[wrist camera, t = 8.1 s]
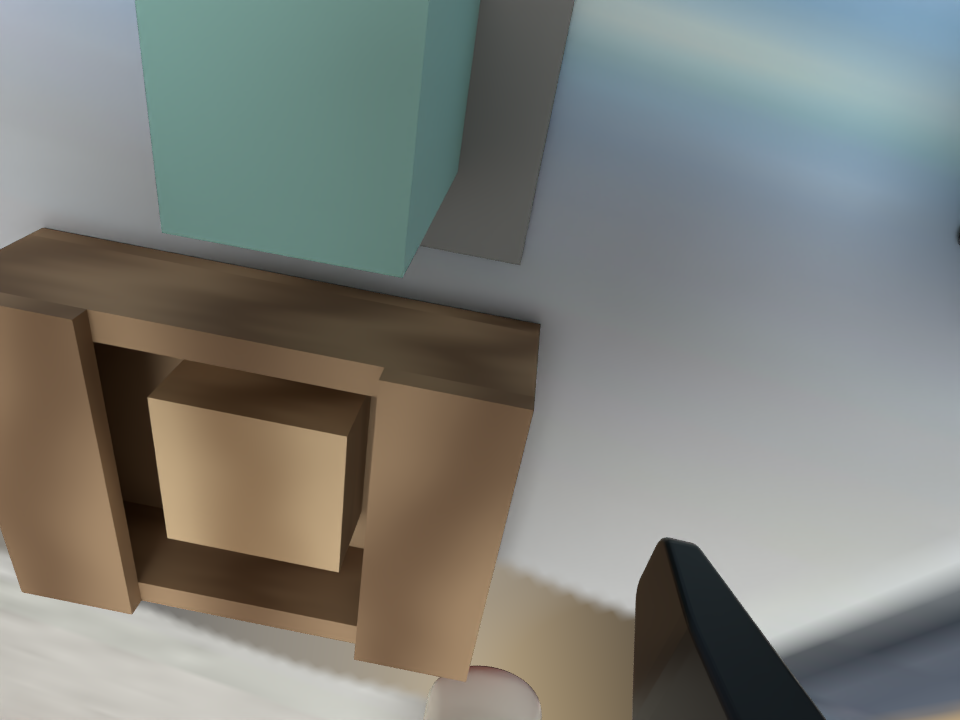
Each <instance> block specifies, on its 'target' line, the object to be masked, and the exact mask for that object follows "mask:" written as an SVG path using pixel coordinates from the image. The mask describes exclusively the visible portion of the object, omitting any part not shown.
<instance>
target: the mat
mask: <svg viewBox="0 0 960 720" xmlns="http://www.w3.org/2000/svg"><path fill="white" fill-rule="evenodd" d="M573 5H574V0H480V7H479V15H478V22H477V30H476V37H475V45H474V52H473V60H472V67H471V75H470V83H469V90H468V98H467V105H466V113H465V120H464V128H463V135H462V143H461V150H460V158H459V166H458V172H457V174H456V176H455V178H454V180H453V182H452V184H451V186H450V188H449V190H448V192H447V193H446V195H445V197H444V199H443V201H442V203H441V205H440V207H439V209H438V211H437V213H436V215H435V217H434V218H433V220H432V222H431V224H430V226H429V228H428V230H427V232H426V234H425V236H424V238H423V240H422V242H421V243H420V245H419V246H424V247H429V248H434V249H439V250H444V251H450V252H455V253H460V254H465V255H470V256H476V257H481V258H486V259H491V260H496V261H501V262H507V263H512V264H517V265H520V263H521V258H522V253H523V248H524V244H525V239H526V234H527V229H528V224H529V219H530V214H531V209H532V205H533V200H534V195H535V190H536V185H537V180H538V175H539V171H540V166H541V161H542V156H543V151H544V146H545V141H546V136H547V132H548V127H549V122H550V117H551V112H552V107H553V102H554V98H555V93H556V88H557V83H558V78H559V73H560V68H561V63H562V59H563V54H564V49H565V44H566V39H567V34H568V29H569V25H570V20H571V15H572V10H573Z"/></svg>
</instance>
